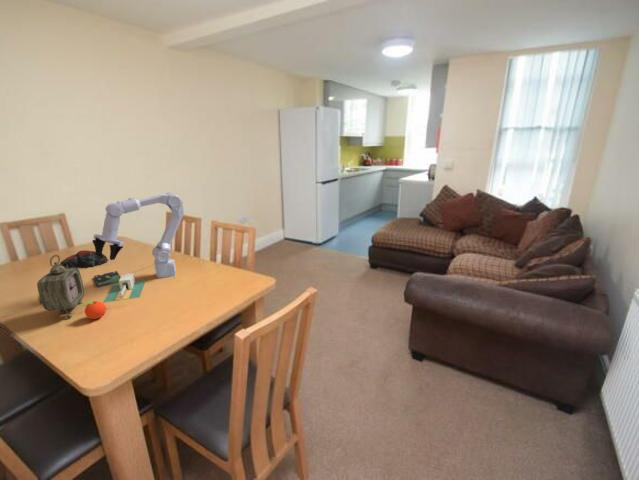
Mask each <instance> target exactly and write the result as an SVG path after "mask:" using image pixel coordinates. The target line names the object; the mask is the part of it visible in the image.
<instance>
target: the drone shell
mask: <svg viewBox="0 0 639 480" xmlns="http://www.w3.org/2000/svg"><path fill="white" fill-rule="evenodd" d="M108 261H109V259H108V258H107V256H106V255H105V254H103V253H102V254H101V255H98V256H97V255H96V250H79V251H78V252H77V253H75V254H73V255H72V254H71V255H70V256H68V257H66V258H65V259H63V260H62V261H60V262H59V265H60V266H63V267H65V269H72V268H78V269H84V268H85V269H86V268H87V269H88V268H89V266H90V267H91V268H93V267H94V268H95V267H98V266H102V265H104V264H107V263H108Z"/></svg>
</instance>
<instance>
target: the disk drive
mask: <svg viewBox="0 0 639 480" xmlns="http://www.w3.org/2000/svg"><path fill="white" fill-rule="evenodd" d="M120 278H121V276H120V274H119V273H118V270H115V271H111V272H105V273H102V274H97V275H94V276H93V279H94V281H95V284H96V287H97V288H102V287H106V286H111V285H115V284H119V280H120Z"/></svg>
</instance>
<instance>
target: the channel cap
mask: <svg viewBox="0 0 639 480" xmlns="http://www.w3.org/2000/svg"><path fill="white" fill-rule="evenodd" d="M135 282H136V279H135V275H134V272H131V273H129V272H128V273H122V274H121V276H120V280H119V283H118V284H119V285H120V290H122V288H123V286H124V285H125V286H126V285H127V283H128V287H129V290H130V289H132V288H133V286H134V283H135Z"/></svg>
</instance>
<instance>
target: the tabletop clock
mask: <svg viewBox="0 0 639 480" xmlns="http://www.w3.org/2000/svg"><path fill="white" fill-rule="evenodd" d="M55 257H57V258H58V260H57V261H56V262H53V259H54V258H55ZM52 262H53V263H52ZM60 262H61V257H60V255H58V254H54V255H52V256H51V257H50V260H49V265H50V266H51V268H50V270H49V273H47V274H45V275H43V276H42V277H41V278H40V279H39V280H38V281H37V283H36V285H37V291H38V295H39V301H40V300H41V302H42V303H41V305H42V307H43V309H44V310H46V311H49V312H53V311H58V313H59V314H64V312H65V313H66V318H67V319H71V318H72V317H73V316H72V314H71V313H69V309H75V308H76V307H77V306H78V305H82V304H84V303H83V298H84V296H85V287H84V283H83V279H82V276H81V273H80V269H79V268H66V267H63V266H62V265H60Z"/></svg>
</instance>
